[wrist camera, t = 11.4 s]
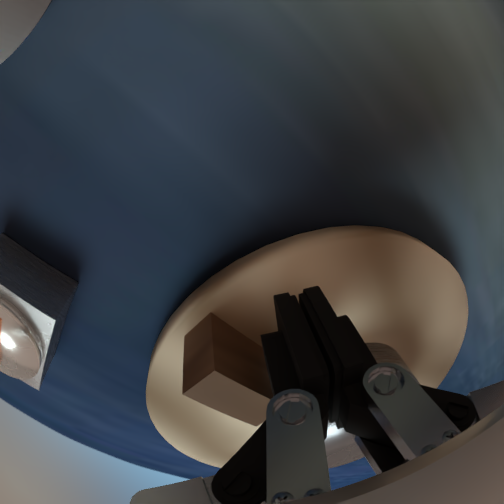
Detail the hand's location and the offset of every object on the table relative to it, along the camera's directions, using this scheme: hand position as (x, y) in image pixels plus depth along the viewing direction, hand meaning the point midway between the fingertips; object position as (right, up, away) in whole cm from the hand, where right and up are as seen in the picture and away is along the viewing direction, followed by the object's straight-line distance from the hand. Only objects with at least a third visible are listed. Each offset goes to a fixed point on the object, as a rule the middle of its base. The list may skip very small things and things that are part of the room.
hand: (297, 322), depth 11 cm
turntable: (+3, -5, +5) cm, 8 cm away
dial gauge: (-14, 0, +1) cm, 14 cm away
